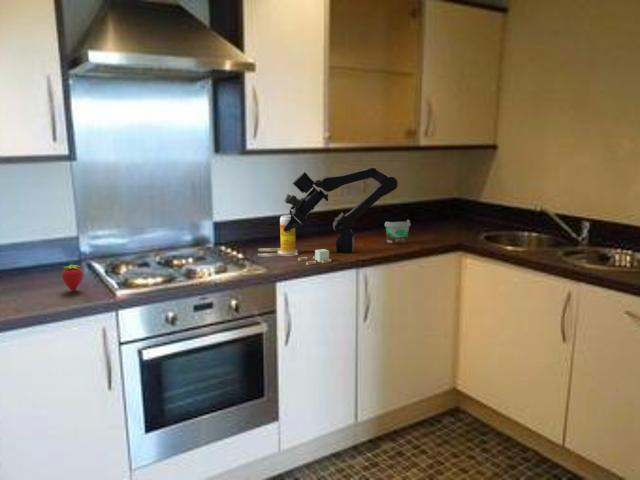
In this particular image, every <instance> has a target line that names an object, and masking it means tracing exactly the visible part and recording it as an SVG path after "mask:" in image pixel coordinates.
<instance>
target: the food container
mask: <svg viewBox="0 0 640 480" xmlns="http://www.w3.org/2000/svg"><path fill="white" fill-rule="evenodd" d="M384 227H385V232H386V233H385V234H386V235H385V236H386V244H387V243H388V245H392V244H403V245H406V243H407V244H408V237H409V230H410V227H411V221H410V220H409V219H407V220H405V221H385V223H384Z"/></svg>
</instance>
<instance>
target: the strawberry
mask: <svg viewBox="0 0 640 480" xmlns="http://www.w3.org/2000/svg"><path fill="white" fill-rule="evenodd" d="M82 266H83V265H76V264H73V262H71V263H70V264H69V265H68V266H64V267H62V268H63V269H64V270H63V271H62V273H61V274H62V275H61V277H62V280H63V282H64V283H65V285H66V286H67V287H68V288H69V290H70V291H71V292H72V293H74V292H75V291H77V289H78V287H79V285H80V284H81V282H82V280H83V275H84V274H83V270H82V269H81V267H82Z"/></svg>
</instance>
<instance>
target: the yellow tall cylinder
mask: <svg viewBox="0 0 640 480" xmlns="http://www.w3.org/2000/svg"><path fill="white" fill-rule="evenodd" d="M290 219H291V215H290V214H284V215H280V218H279V229H280V230H279V231H280V232H279V233H280V248H281V251H282V253H294V252H295V251H296V250H297V249H296V248H297V245H296V227H295V228H293V229H290V230H288V231H286V232H285V231H284V230H283V229H284V228H285V226H286V225H287V223H288V222H289V221H290Z"/></svg>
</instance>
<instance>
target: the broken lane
mask: <svg viewBox="0 0 640 480" xmlns="http://www.w3.org/2000/svg"><path fill="white" fill-rule="evenodd" d="M312 259H314V260H310V261H309V260H308V257H307V256H302V257H301V256H300V257H298V258H297V261H299V262H301V261H306V262H305V263H306V264H305V265H307V266H310V265H316V264H317V261H316V260H315V255H313V256H312ZM321 263H322V264H326V263H332V258H329V259H325V260H322V262H321Z"/></svg>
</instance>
